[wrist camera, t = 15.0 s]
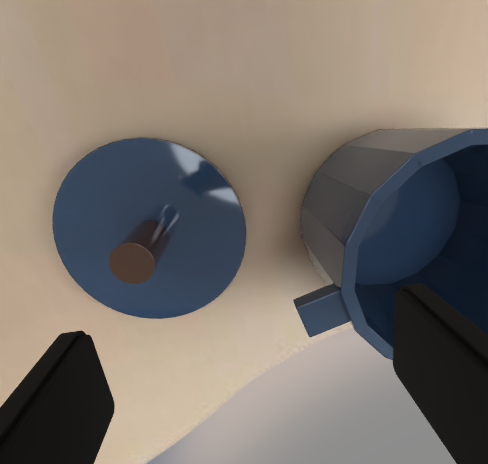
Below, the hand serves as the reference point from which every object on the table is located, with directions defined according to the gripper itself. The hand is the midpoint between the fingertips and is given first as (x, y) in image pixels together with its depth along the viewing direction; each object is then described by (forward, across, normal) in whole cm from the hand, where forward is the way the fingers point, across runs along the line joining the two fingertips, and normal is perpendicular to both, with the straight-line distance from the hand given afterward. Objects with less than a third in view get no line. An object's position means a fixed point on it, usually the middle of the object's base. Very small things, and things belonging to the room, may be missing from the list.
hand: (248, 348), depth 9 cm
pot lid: (+17, +7, +1) cm, 19 cm away
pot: (+18, -13, +3) cm, 22 cm away
